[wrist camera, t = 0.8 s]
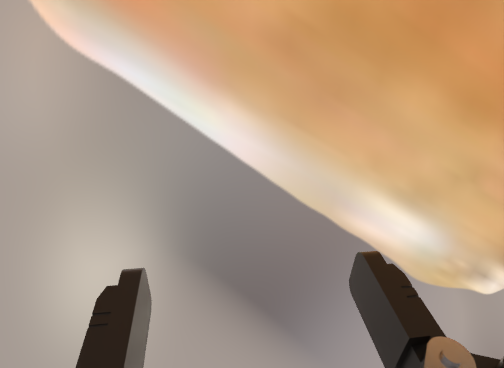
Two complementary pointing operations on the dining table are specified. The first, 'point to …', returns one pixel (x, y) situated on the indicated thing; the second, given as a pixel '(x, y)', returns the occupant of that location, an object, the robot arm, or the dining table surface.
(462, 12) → the dining table surface
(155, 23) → the dining table surface
